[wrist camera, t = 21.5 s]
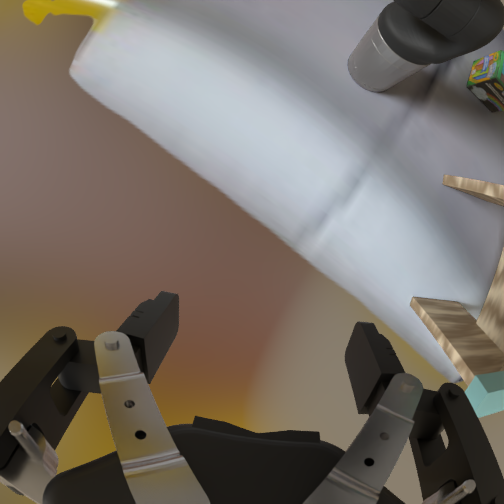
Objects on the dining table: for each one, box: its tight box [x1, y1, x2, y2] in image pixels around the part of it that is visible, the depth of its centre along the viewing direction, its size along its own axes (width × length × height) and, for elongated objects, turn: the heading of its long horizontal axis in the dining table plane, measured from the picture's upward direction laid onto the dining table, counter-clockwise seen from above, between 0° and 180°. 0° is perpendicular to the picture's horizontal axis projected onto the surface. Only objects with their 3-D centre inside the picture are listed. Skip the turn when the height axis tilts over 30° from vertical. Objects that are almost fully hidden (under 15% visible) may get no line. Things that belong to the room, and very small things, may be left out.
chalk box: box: [467, 50, 504, 112], centre depth 28 cm, size 9×9×15 cm
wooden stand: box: [410, 175, 504, 386], centre depth 31 cm, size 28×14×34 cm, turn 172°
